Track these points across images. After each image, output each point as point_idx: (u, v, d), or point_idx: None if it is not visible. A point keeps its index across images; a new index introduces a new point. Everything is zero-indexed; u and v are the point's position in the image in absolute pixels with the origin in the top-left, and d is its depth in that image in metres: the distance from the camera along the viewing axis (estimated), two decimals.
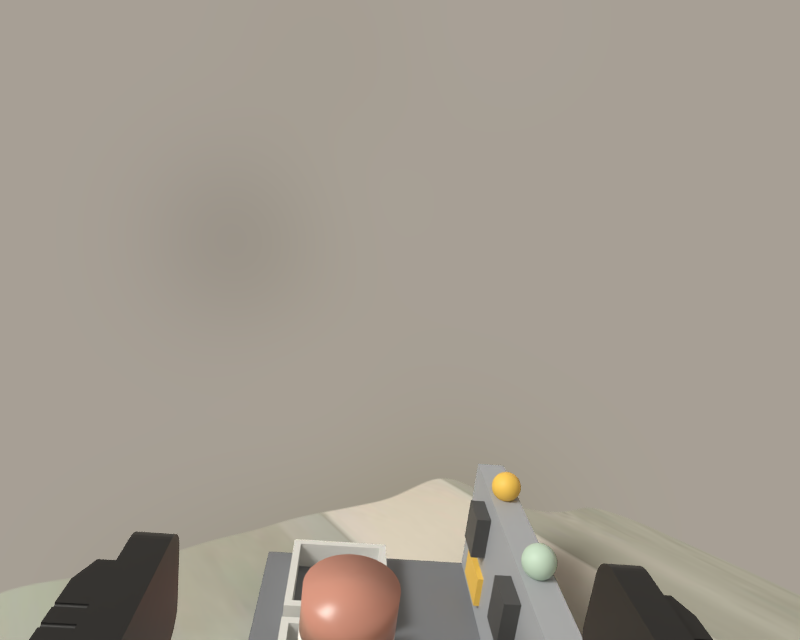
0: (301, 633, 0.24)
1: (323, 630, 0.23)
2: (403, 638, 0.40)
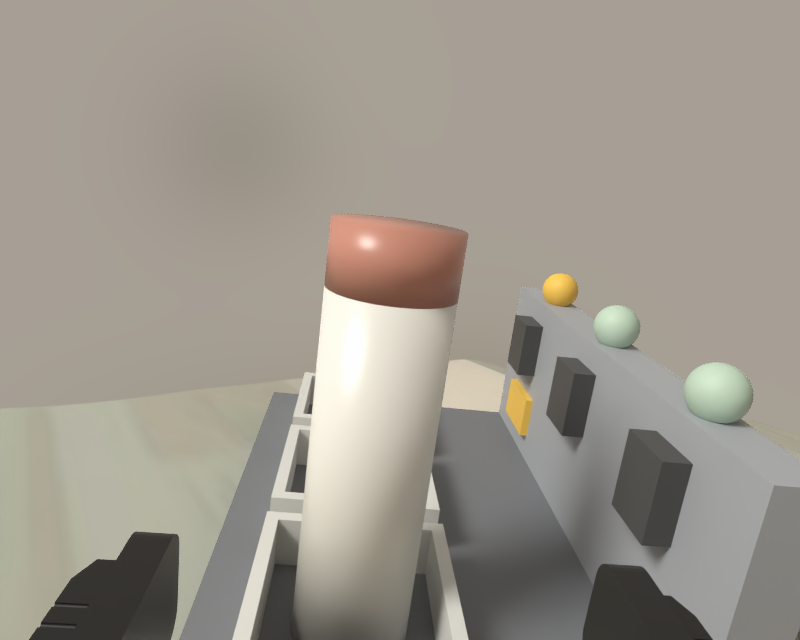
0: (328, 282, 0.17)
1: (363, 252, 0.16)
2: (437, 464, 0.33)
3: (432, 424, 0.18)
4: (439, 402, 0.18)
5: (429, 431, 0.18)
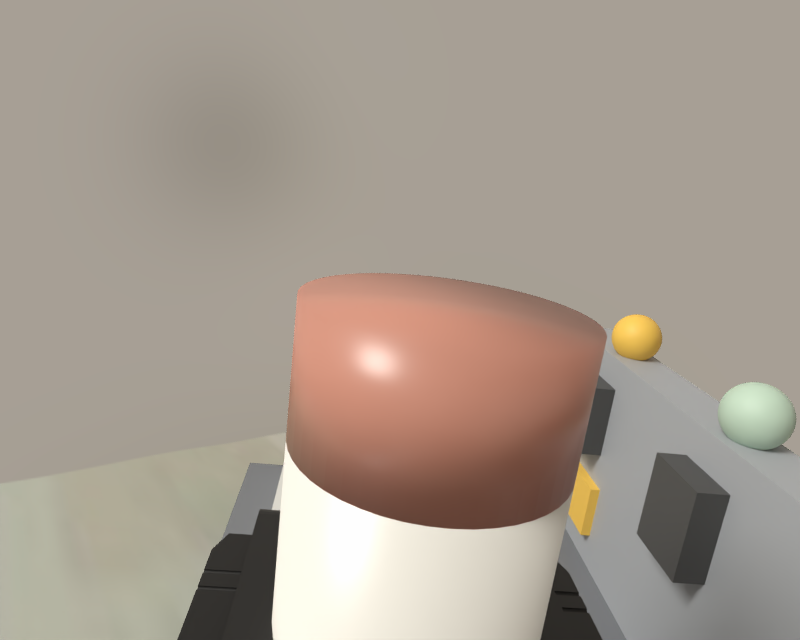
0: (293, 443, 0.07)
1: (371, 397, 0.06)
2: None
3: None
4: None
5: None
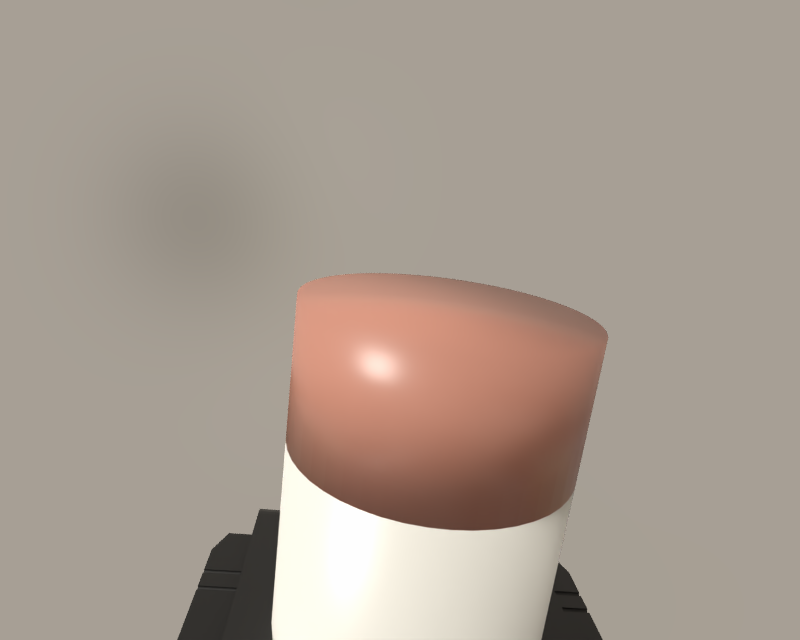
0: (293, 443, 0.07)
1: (371, 398, 0.06)
2: None
3: None
4: None
5: None
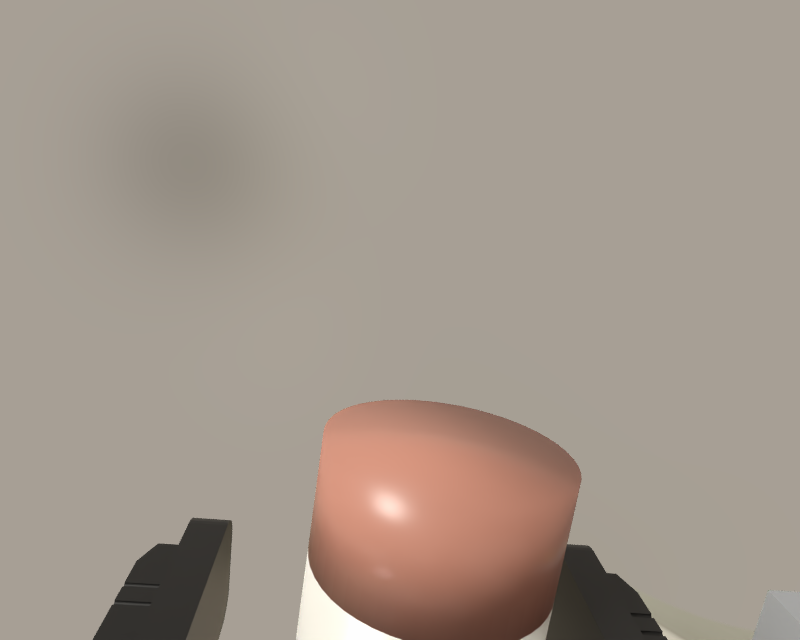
0: (316, 563, 0.09)
1: (387, 538, 0.08)
2: None
3: None
4: None
5: None
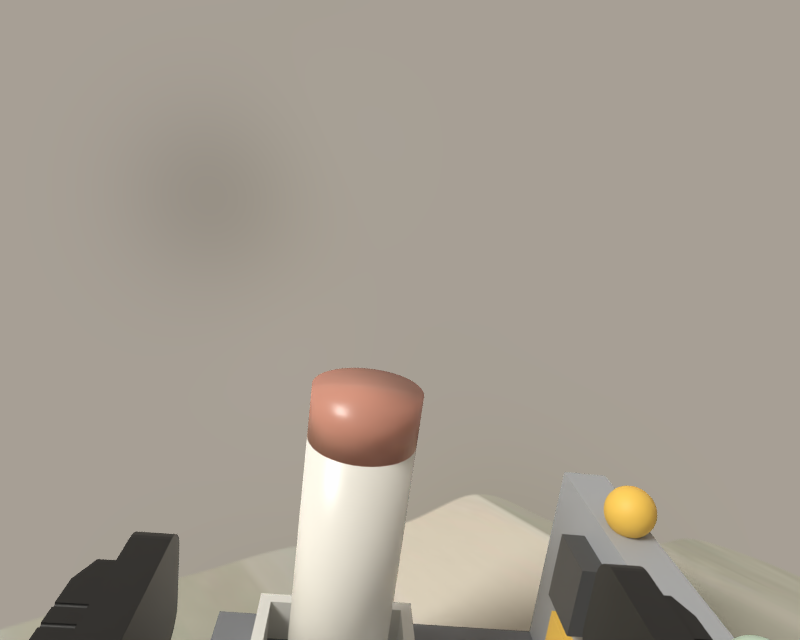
0: (310, 438, 0.21)
1: (335, 423, 0.20)
2: None
3: (395, 547, 0.22)
4: (401, 529, 0.22)
5: (392, 553, 0.22)
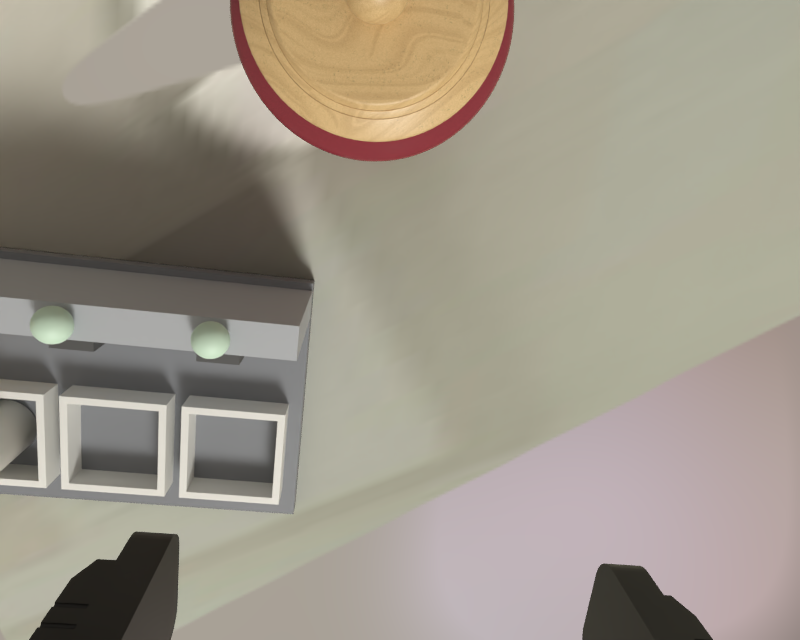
0: None
1: None
2: (60, 368, 0.41)
3: None
4: None
5: None
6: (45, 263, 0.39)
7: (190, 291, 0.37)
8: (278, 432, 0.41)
